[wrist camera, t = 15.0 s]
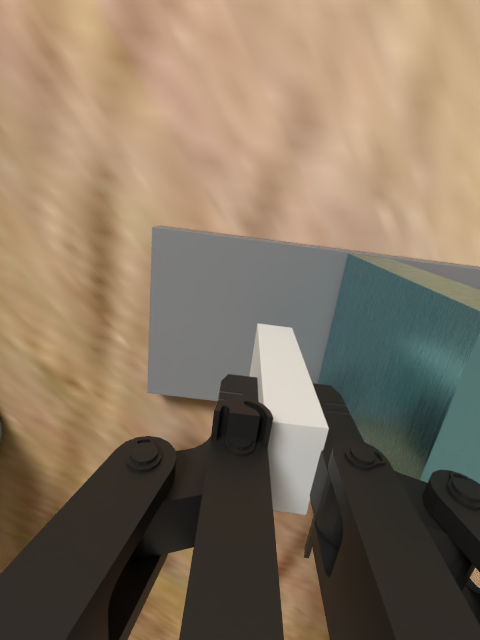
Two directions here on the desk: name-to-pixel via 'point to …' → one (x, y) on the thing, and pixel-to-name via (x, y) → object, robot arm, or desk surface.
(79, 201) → the desk surface
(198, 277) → the shelf board
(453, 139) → the desk surface
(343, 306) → the teal brushed slab
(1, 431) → the embossed green cup
